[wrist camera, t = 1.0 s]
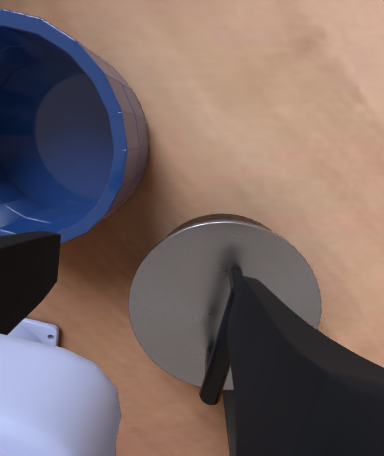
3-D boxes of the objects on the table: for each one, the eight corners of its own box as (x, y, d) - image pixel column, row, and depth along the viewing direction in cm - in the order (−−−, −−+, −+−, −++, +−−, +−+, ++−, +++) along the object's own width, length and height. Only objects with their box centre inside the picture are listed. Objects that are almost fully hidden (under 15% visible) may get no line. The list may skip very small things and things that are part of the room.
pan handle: (219, 359, 23) (219, 373, 22) (237, 358, 23) (238, 371, 22) (231, 465, 26) (232, 482, 25) (247, 464, 26) (249, 482, 25)
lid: (344, 242, 18) (390, 279, 14) (281, 394, 22) (300, 463, 17) (150, 196, 18) (129, 216, 14) (119, 356, 22) (95, 415, 17)
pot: (133, 235, 22) (109, 267, 17) (-15, 200, 22) (-88, 220, 17) (163, 69, 19) (144, 42, 13) (-13, 27, 19) (-103, -18, 13)
